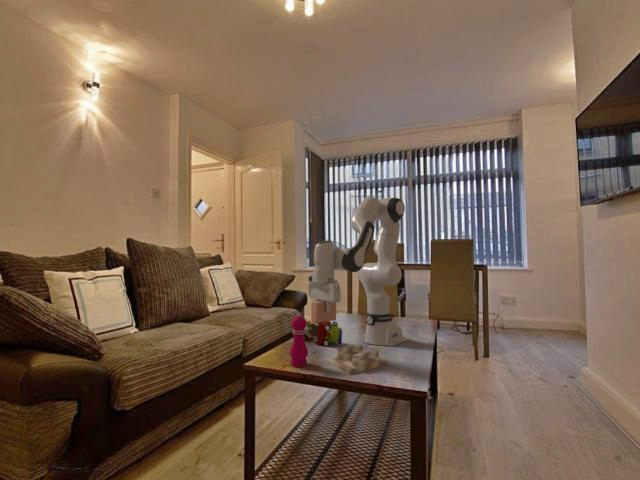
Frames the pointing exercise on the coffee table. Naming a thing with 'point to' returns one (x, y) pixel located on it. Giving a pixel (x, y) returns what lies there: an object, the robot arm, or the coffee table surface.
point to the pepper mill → (298, 342)
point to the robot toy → (324, 332)
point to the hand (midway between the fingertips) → (323, 310)
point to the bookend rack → (356, 359)
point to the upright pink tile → (322, 312)
